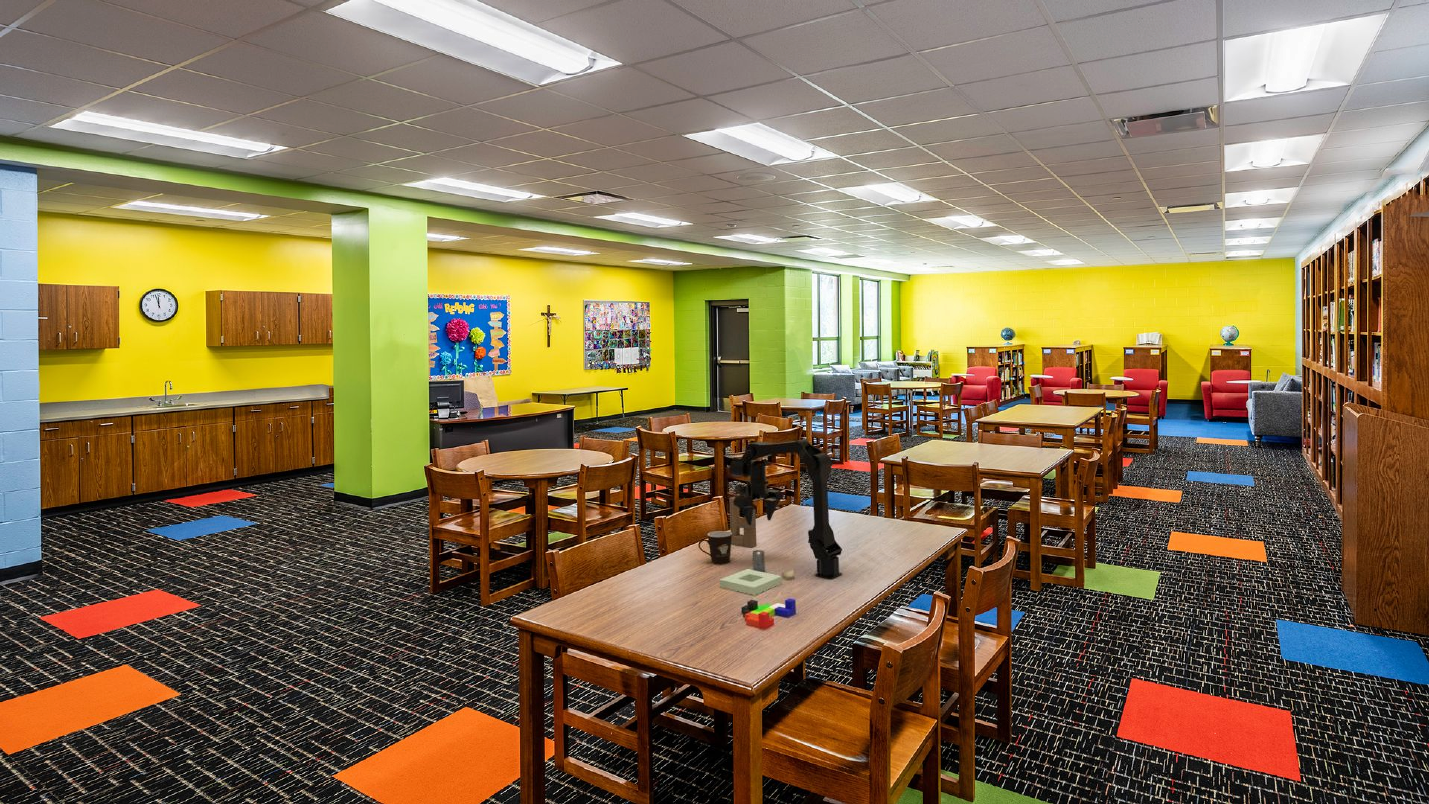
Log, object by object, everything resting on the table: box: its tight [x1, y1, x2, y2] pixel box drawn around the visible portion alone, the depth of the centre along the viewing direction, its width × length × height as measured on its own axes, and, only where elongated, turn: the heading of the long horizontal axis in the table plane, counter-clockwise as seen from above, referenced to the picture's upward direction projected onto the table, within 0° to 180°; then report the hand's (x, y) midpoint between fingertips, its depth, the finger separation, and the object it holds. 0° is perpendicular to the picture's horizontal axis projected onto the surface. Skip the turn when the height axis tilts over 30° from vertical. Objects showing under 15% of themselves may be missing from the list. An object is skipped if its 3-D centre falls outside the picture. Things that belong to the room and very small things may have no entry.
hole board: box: [719, 568, 783, 596], centre depth 247 cm, size 14×14×2 cm
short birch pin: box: [781, 568, 795, 581], centre depth 254 cm, size 4×4×2 cm
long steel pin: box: [752, 549, 766, 573], centre depth 261 cm, size 4×4×7 cm
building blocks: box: [740, 598, 797, 630], centre depth 219 cm, size 15×13×4 cm
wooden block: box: [728, 496, 757, 549], centre depth 297 cm, size 4×11×18 cm, turn 51°
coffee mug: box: [697, 530, 732, 565], centre depth 275 cm, size 12×9×10 cm
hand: (759, 522), depth 272 cm, fingers open, 9 cm apart
